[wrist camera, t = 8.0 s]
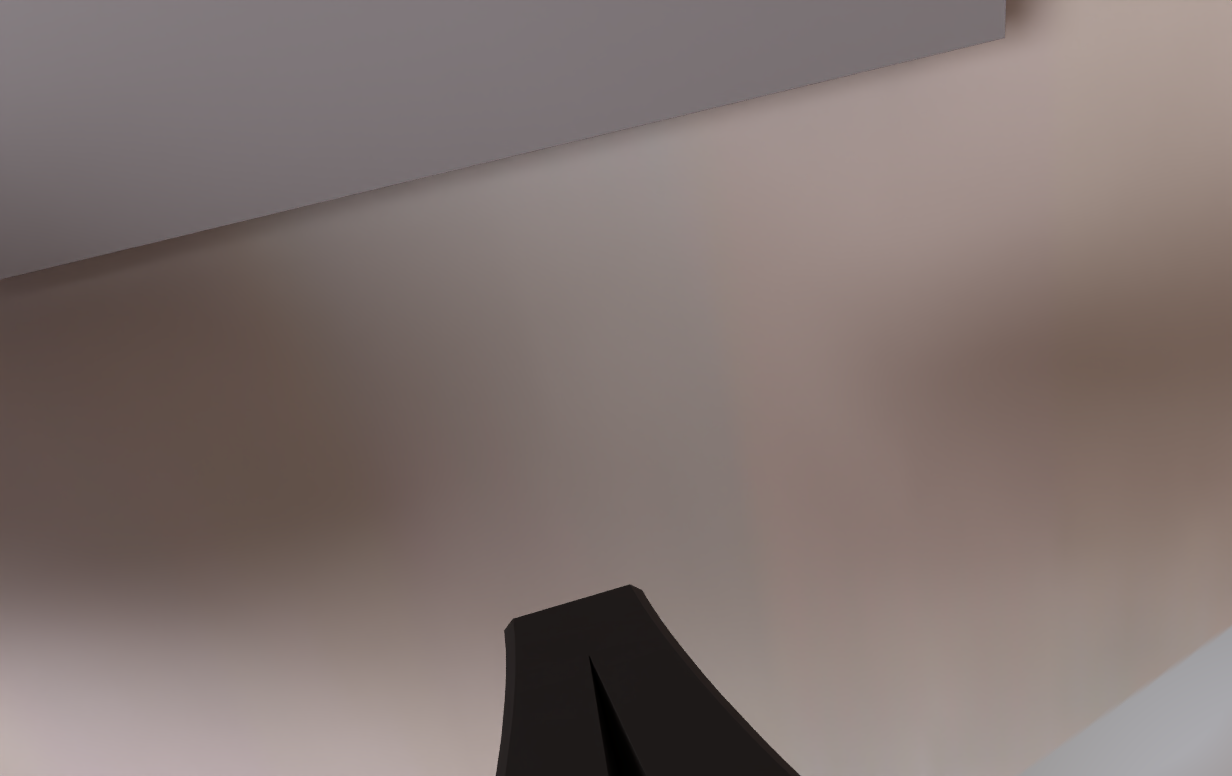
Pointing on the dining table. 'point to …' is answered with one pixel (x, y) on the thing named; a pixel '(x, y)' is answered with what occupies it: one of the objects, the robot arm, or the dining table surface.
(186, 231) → the console
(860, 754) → the dining table surface
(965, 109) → the dining table surface
